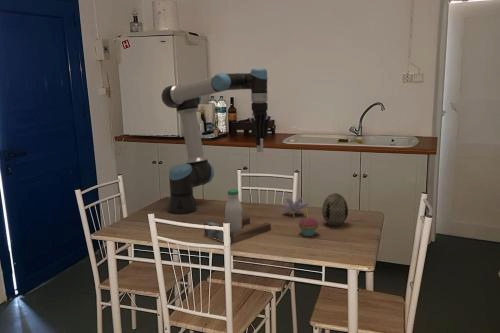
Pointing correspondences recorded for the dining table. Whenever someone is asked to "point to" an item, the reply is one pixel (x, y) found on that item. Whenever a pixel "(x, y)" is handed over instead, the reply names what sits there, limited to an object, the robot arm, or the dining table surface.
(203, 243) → the dining table surface
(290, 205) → the water lily
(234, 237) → the guide channel
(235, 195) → the milk bottle
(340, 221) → the decorative egg
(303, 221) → the cupcake
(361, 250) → the dining table surface
